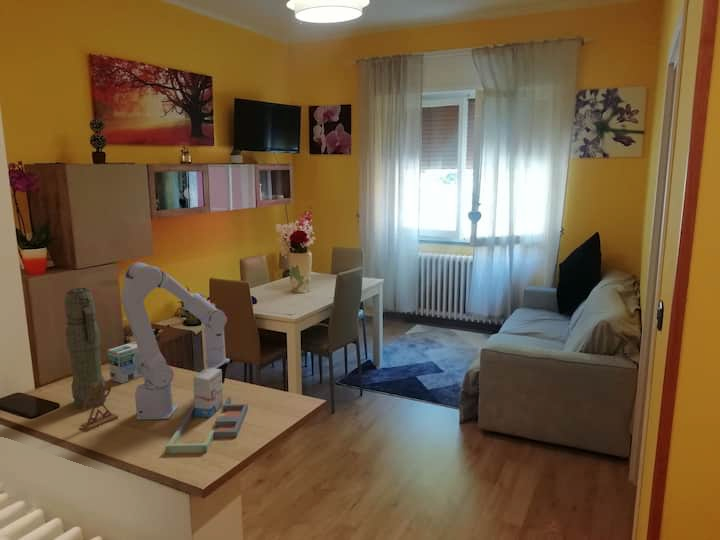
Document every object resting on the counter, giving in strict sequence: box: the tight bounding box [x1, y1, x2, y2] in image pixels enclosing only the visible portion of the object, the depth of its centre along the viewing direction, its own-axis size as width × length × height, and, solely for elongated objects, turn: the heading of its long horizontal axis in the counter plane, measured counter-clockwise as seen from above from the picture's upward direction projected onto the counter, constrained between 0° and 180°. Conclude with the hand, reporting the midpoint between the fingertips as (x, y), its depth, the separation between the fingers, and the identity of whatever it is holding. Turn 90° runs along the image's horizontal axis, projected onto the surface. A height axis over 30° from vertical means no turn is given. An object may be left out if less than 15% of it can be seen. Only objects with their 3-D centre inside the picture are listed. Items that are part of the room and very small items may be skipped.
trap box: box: [165, 396, 249, 454], centre depth 147 cm, size 16×30×2 cm, turn 2°
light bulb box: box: [107, 341, 143, 384], centre depth 181 cm, size 11×7×11 cm, turn 147°
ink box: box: [192, 367, 224, 419], centre depth 155 cm, size 9×5×12 cm, turn 168°
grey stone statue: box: [64, 287, 107, 409], centre depth 159 cm, size 9×12×35 cm
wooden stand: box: [80, 382, 119, 431], centre depth 148 cm, size 9×4×12 cm, turn 148°
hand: (217, 388), depth 166 cm, fingers open, 7 cm apart
